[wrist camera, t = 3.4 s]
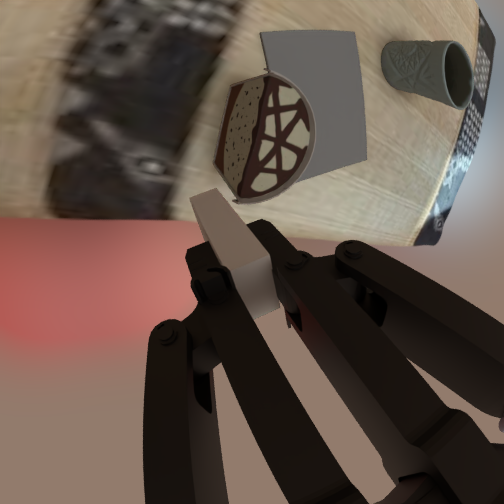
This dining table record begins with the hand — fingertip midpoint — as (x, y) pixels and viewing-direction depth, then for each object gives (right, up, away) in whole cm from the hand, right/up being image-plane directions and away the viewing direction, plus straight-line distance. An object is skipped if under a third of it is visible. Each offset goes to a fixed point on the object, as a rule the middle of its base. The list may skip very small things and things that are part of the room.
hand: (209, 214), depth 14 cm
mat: (+11, +17, +16) cm, 26 cm away
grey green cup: (+25, +27, +16) cm, 40 cm away
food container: (+1, +12, +15) cm, 19 cm away
